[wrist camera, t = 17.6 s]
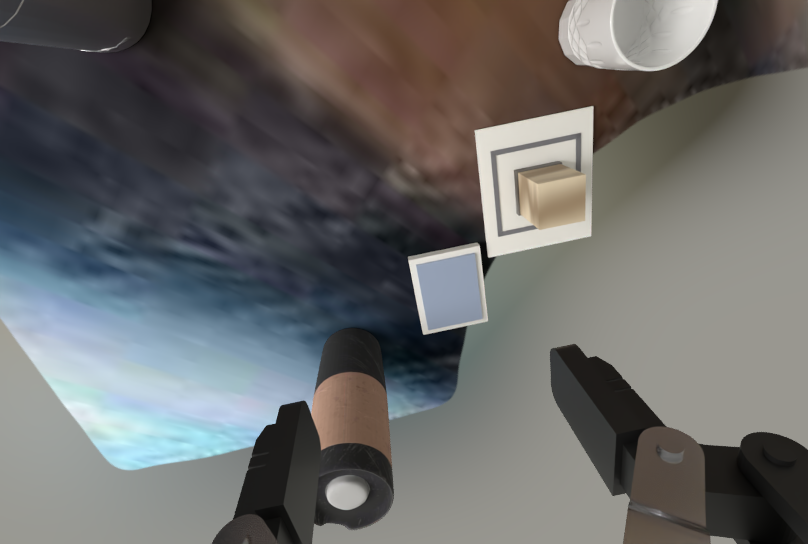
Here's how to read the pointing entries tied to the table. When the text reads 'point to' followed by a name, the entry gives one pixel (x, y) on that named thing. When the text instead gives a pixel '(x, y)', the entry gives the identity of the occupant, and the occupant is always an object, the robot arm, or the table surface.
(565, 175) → the stamp
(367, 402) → the travel mug
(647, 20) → the white cup
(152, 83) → the table surface
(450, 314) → the ink pad
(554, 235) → the sheet
